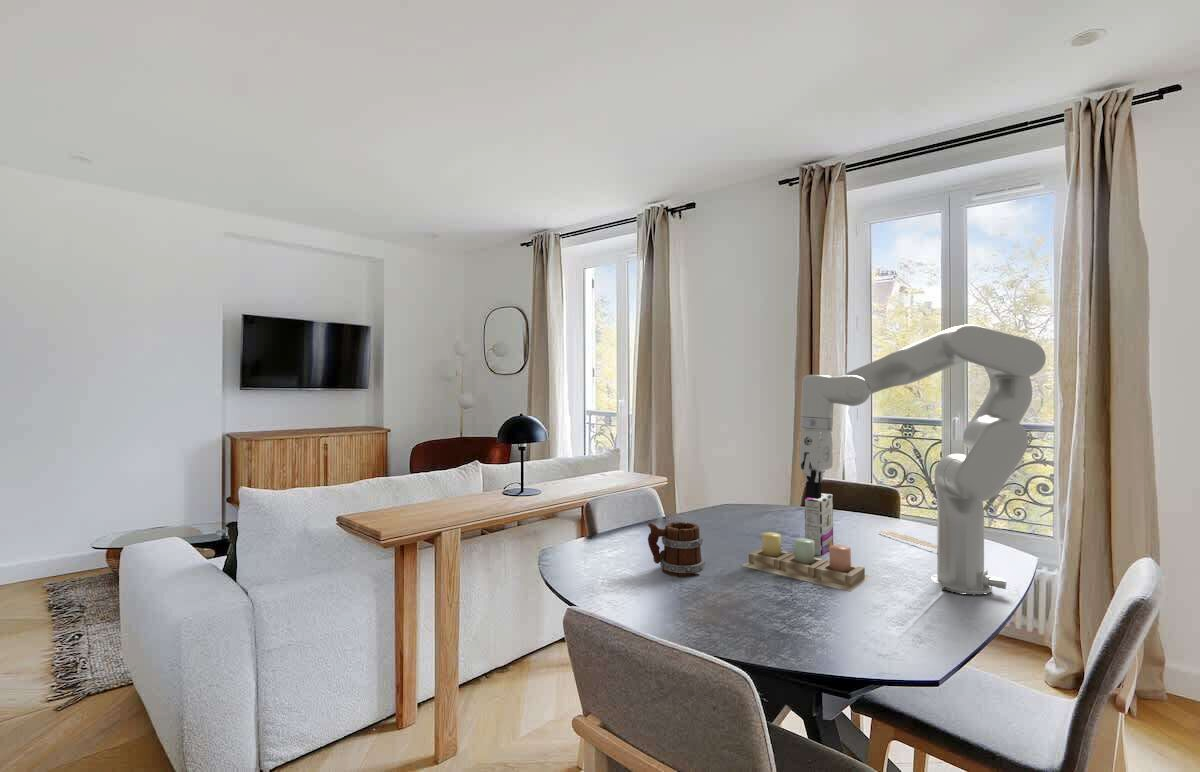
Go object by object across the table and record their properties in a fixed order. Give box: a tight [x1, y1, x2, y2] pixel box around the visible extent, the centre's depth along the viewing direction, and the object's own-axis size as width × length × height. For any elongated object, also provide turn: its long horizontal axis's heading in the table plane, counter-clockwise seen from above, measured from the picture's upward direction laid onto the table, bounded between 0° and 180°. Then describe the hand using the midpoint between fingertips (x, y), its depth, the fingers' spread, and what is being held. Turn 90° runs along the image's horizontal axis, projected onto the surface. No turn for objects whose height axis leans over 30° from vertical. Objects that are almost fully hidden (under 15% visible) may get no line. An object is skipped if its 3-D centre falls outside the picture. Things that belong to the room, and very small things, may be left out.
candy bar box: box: [804, 492, 834, 556], centre depth 169 cm, size 11×5×16 cm, turn 143°
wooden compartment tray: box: [741, 547, 872, 592], centre depth 150 cm, size 28×14×4 cm, turn 47°
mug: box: [647, 521, 706, 578], centre depth 154 cm, size 12×14×15 cm
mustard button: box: [761, 531, 782, 556], centre depth 156 cm, size 5×5×5 cm
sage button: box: [793, 537, 815, 563], centre depth 150 cm, size 5×5×5 cm
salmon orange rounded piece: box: [828, 544, 852, 571], centre depth 144 cm, size 5×5×5 cm
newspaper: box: [878, 529, 937, 549], centre depth 179 cm, size 24×7×2 cm, turn 17°
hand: (813, 497), depth 148 cm, fingers closed
